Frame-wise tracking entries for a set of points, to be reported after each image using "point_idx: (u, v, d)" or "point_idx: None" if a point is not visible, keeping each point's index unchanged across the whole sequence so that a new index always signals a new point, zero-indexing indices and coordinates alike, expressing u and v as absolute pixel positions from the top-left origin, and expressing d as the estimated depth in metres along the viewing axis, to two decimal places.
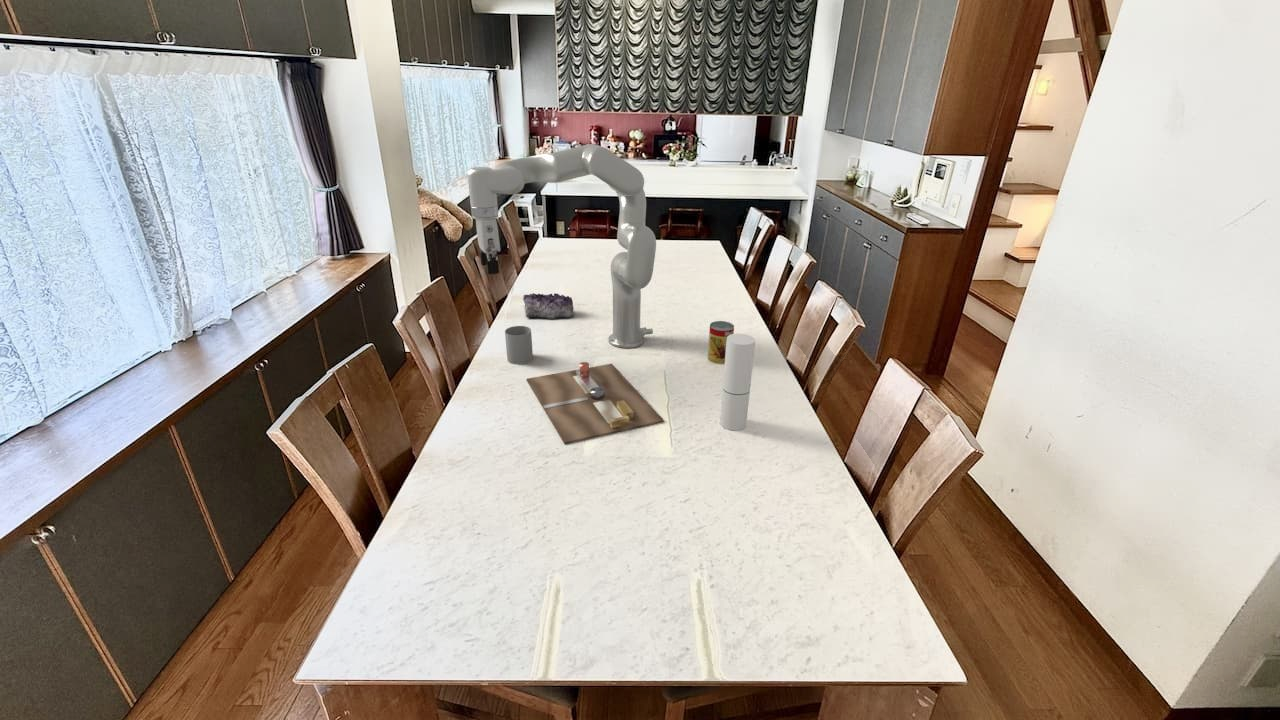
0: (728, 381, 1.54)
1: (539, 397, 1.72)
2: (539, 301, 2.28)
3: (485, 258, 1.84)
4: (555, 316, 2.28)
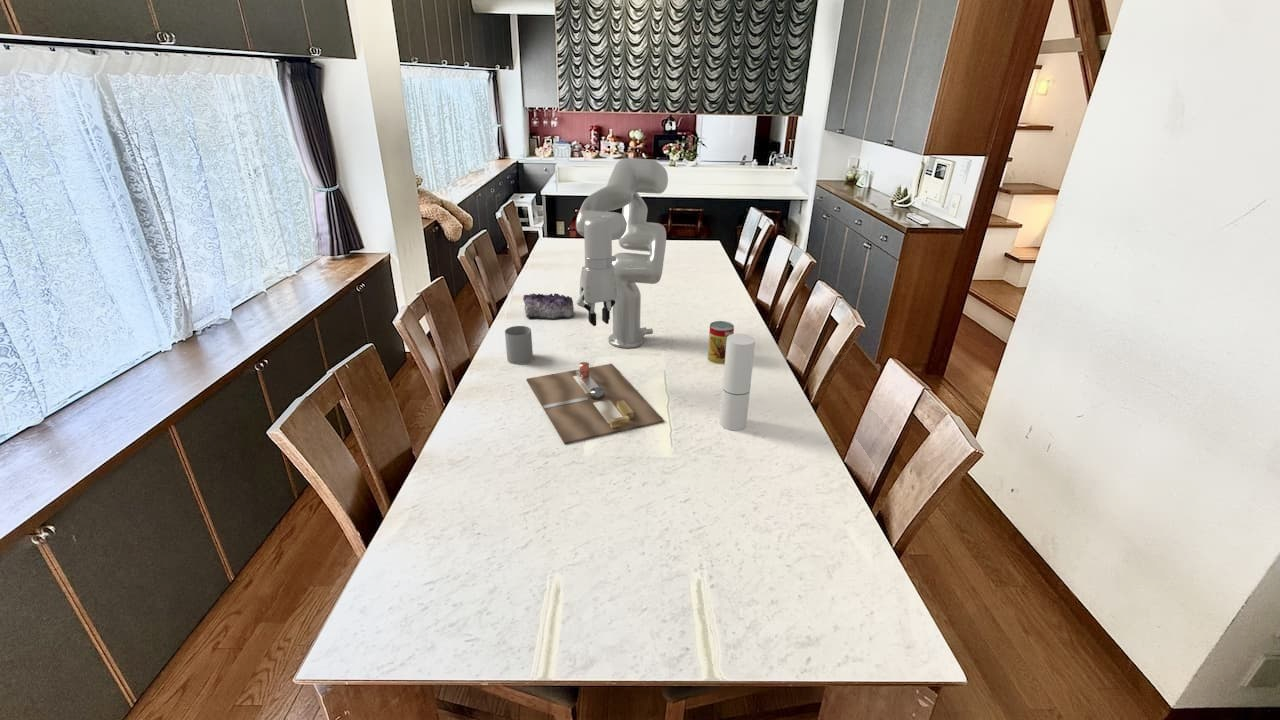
0: (728, 381, 1.54)
1: (539, 397, 1.72)
2: (539, 301, 2.27)
3: None
4: (555, 316, 2.28)
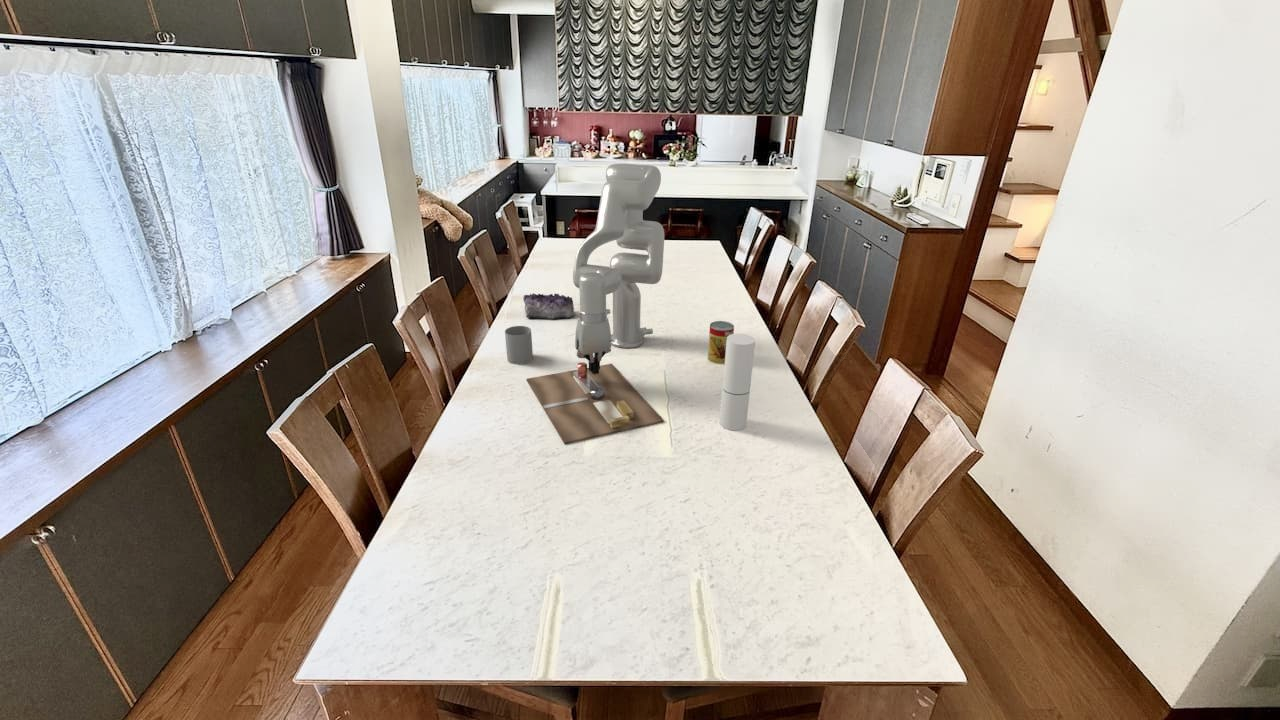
0: (728, 381, 1.54)
1: (539, 397, 1.72)
2: (539, 301, 2.27)
3: None
4: (555, 316, 2.28)
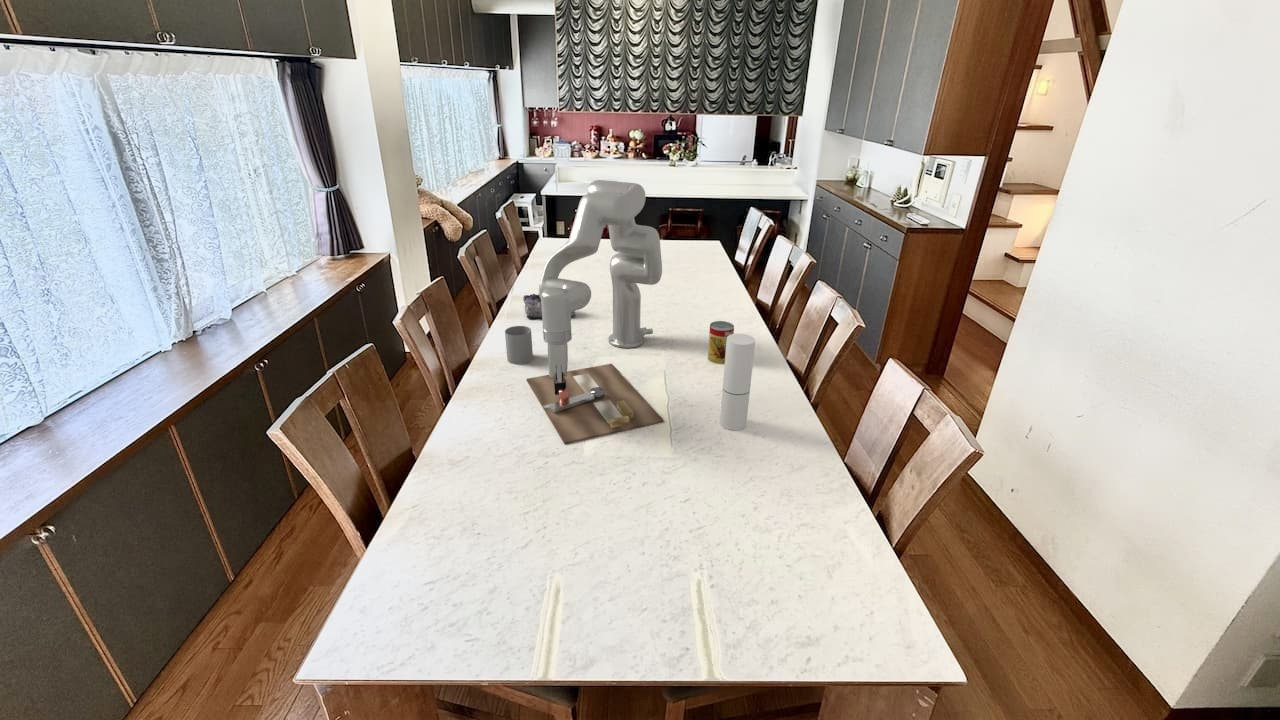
0: (728, 381, 1.54)
1: (539, 397, 1.72)
2: (540, 302, 2.27)
3: None
4: None
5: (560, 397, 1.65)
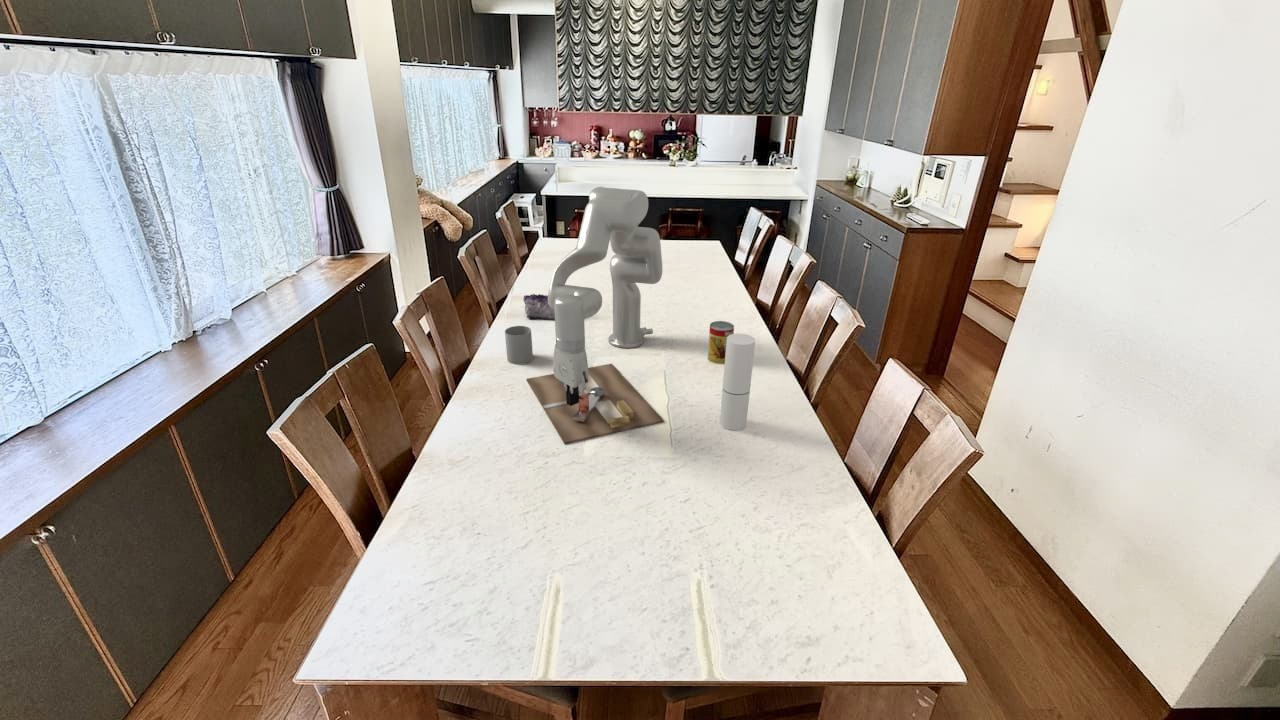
0: (728, 381, 1.54)
1: (539, 397, 1.72)
2: (540, 302, 2.27)
3: None
4: None
5: (583, 405, 1.61)
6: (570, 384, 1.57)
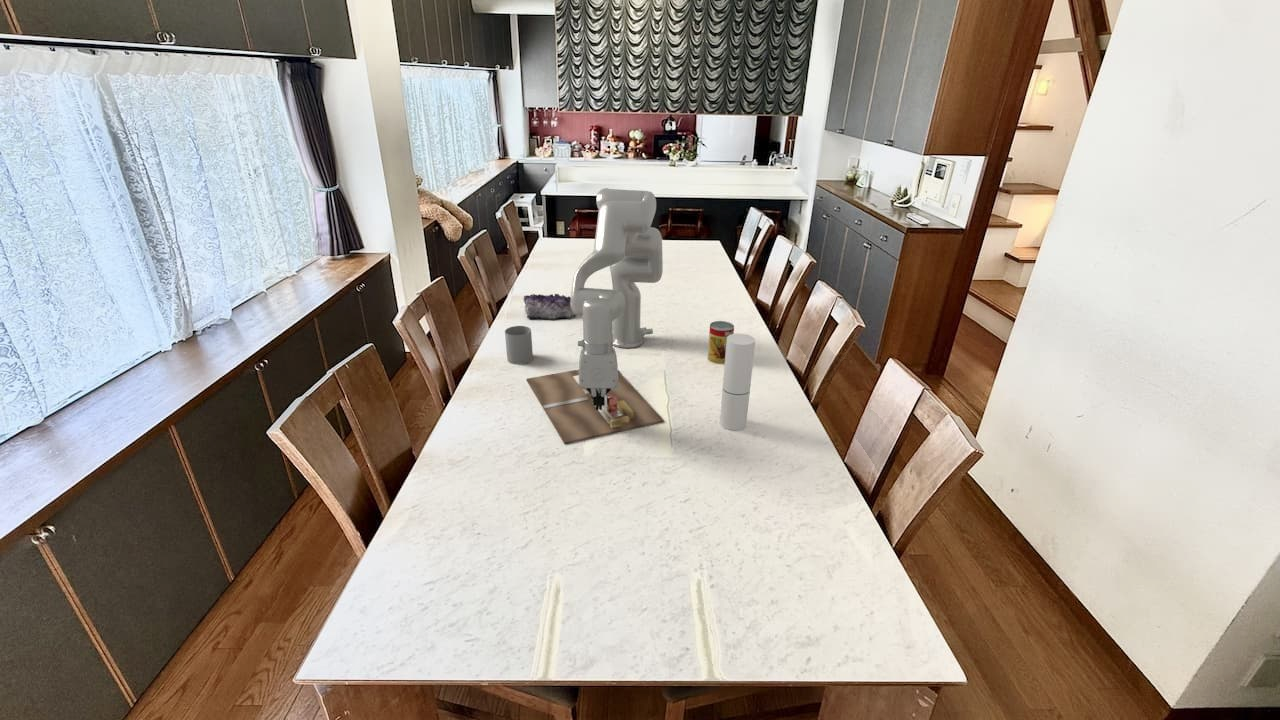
0: (728, 381, 1.54)
1: (539, 397, 1.72)
2: (540, 302, 2.27)
3: None
4: (556, 317, 2.28)
5: (615, 404, 1.62)
6: (609, 386, 1.56)
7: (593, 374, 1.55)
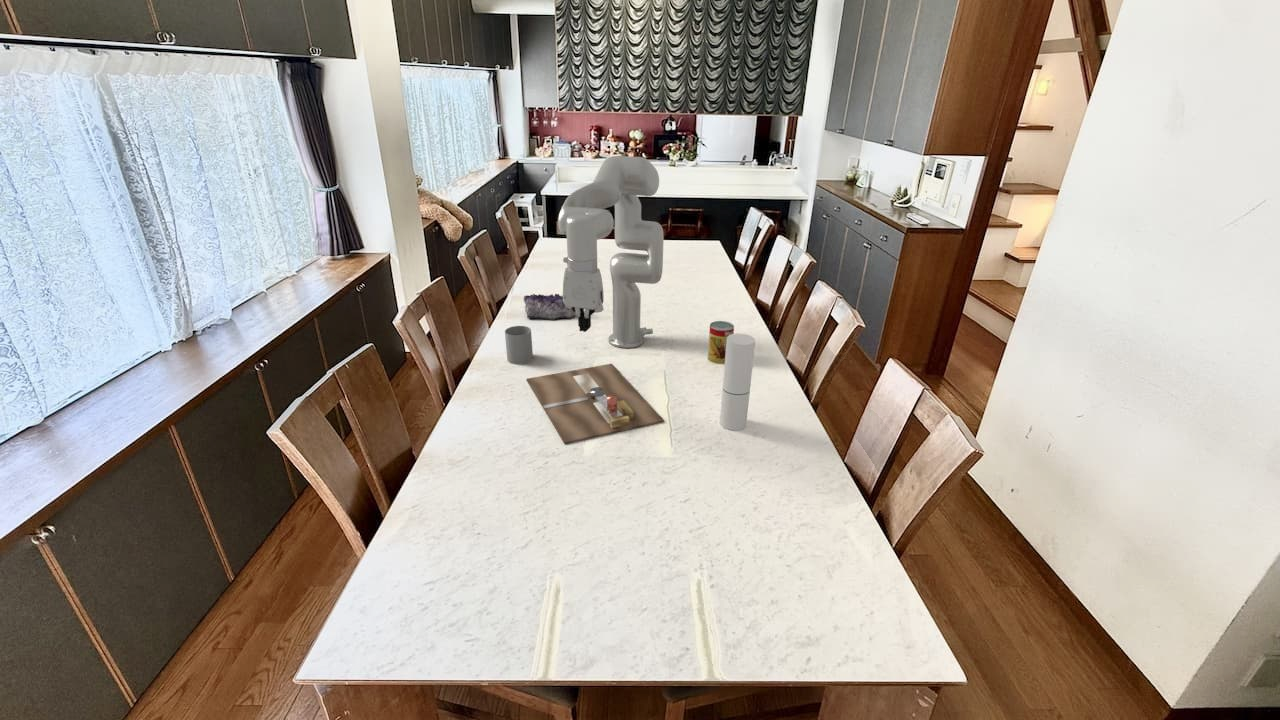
0: (728, 381, 1.54)
1: (539, 397, 1.72)
2: (540, 302, 2.27)
3: None
4: (556, 317, 2.28)
5: (615, 404, 1.62)
6: (590, 306, 1.55)
7: (574, 292, 1.54)
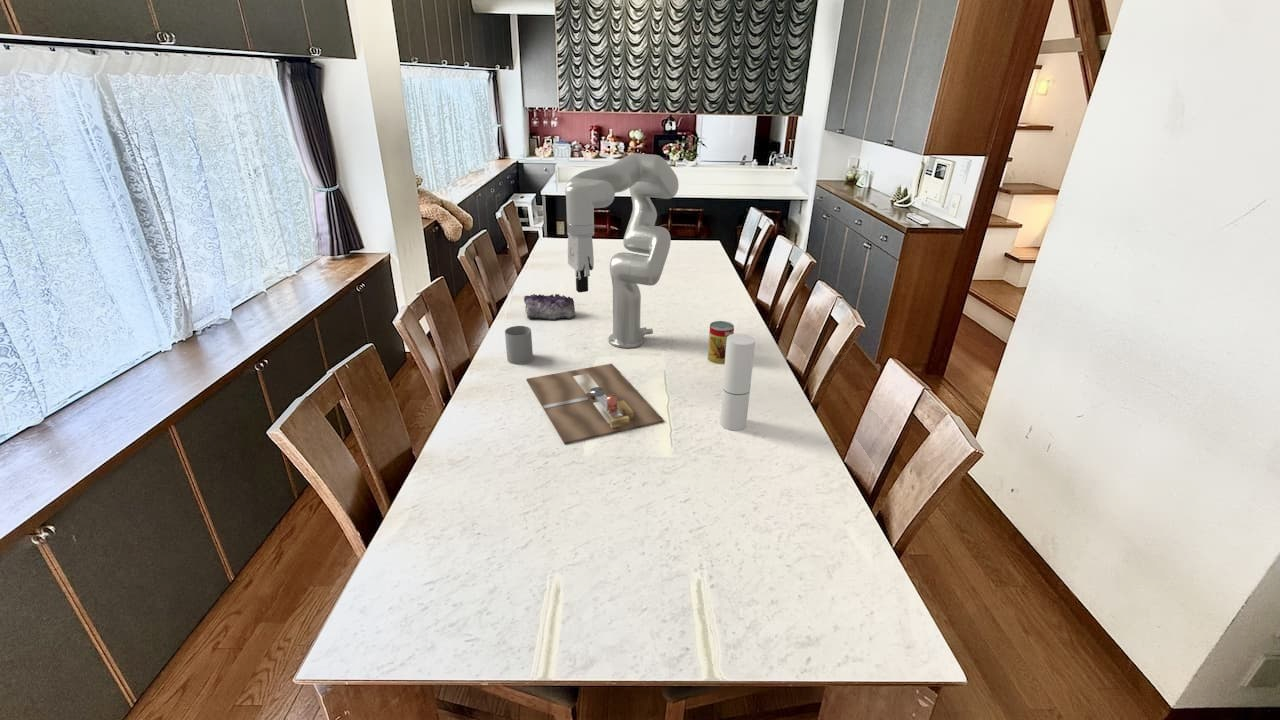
0: (728, 381, 1.54)
1: (539, 397, 1.72)
2: (540, 302, 2.27)
3: None
4: (556, 317, 2.28)
5: (615, 404, 1.62)
6: (575, 268, 1.70)
7: (570, 253, 1.72)
